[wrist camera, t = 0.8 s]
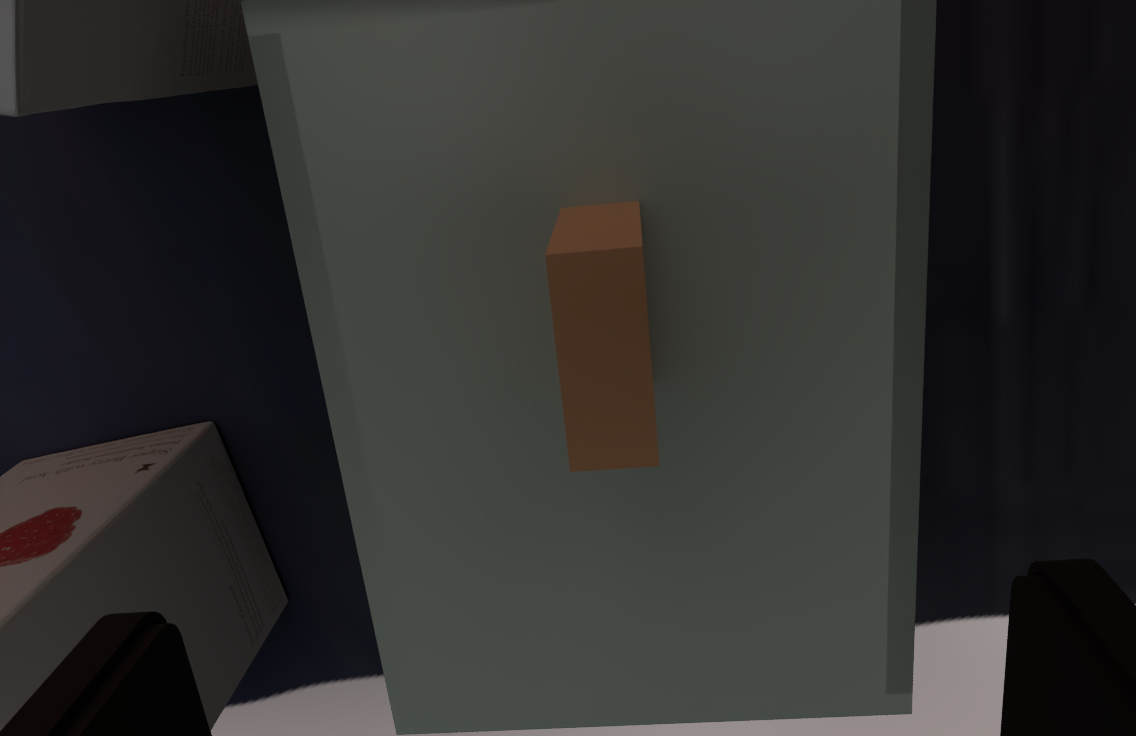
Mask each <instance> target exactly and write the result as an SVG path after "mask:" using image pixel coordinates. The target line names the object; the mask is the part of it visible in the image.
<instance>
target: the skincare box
mask: <svg viewBox="0 0 1136 736" xmlns="http://www.w3.org/2000/svg"><path fill="white" fill-rule="evenodd" d="M240 1H247V0H0V115H6V116H13V117H19V116H24V115H29V114H34V113H41V112H48V111H56V110H64V109H72V108H77V107H83V106H89V105H95V104H101V103H111V102H122V101H137V100H145V99H153V98H162V97H169V96H176V95H184V94H192V93H200V92H206V91H215V90H222V89H229V88H240V87H246V86H253V85H258V82H257V77H256V72H255V67H254V63H253V58H252V53H251V49H250V44H249V39H248V35H247V30H246V25H245V21H244V16H243V11H242V7H241V2H240Z"/></svg>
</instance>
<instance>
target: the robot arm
mask: <svg viewBox="0 0 1136 736" xmlns="http://www.w3.org/2000/svg"><path fill="white" fill-rule="evenodd" d="M0 736H212V735H211V731H210V728H209V725H208V721H207V718H206V715H205V711H204V708H203V705H202V701H201V698H200V695H199V691H198V688H197V685H196V681H195V678H194V675H193V671H192V668H191V665H190V661H189V658H188V655H187V651H186V648H185V645H184V642H183V638H182V635H181V632H180V630H179V628H178V627H177V626H176V625H175V624H172V623H167V621H166V619H165V618H164V617H163V616H162V614H161V613H158V612H155V611H150V612H133V613H115V614H108V615H104V616H103V617H102V618H101V619H99V620H98V621H97V622H96V623H95V625H94V626H93V627H92V628H91V629H90V630H89V631H88V632H87V634H86V635H85V636H84V637H83V638H82V639H81V640H80V642H79V643H78V644H77V645H76V646H75V647H74V648H73V649H72V651H71V652H70V653H69V654H68V655H67V656H66V657H65V658H64V660H63V661H62V662H61V663H60V664H59V665H58V666H57V668H56V669H55V670H54V671H53V672H52V673H51V674H50V675H49V677H48V678H47V679H46V680H45V681H44V682H43V683H42V684H41V686H40V687H39V688H38V689H37V690H36V691H35V692H34V694H33V695H32V696H31V697H30V698H29V699H28V700H27V701H26V703H25V704H24V705H23V706H22V707H21V708H20V709H19V711H18V712H17V713H16V714H15V715H14V716H13V717H12V718H11V720H10V721H9V722H8V723H7V724H6V725H5V726H4V727H3V729H2V730H1V731H0ZM1000 736H1136V606H1135V605H1134V603H1133V602H1132V601H1131V600H1130V599H1129V598H1128V597H1127V595H1126V594H1125V593H1124V592H1123V591H1122V590H1121V589H1120V587H1119V586H1118V585H1117V584H1116V583H1115V582H1114V581H1113V580H1112V578H1111V577H1110V576H1109V575H1108V574H1107V573H1106V572H1105V570H1104V569H1103V568H1102V567H1101V566H1100V565H1099V564H1098V563H1097V562H1096V561H1094V560H1092V559H1070V560H1052V561H1035V562H1034V563H1032V564H1031V566H1030V568H1029V570H1028V574H1027V576H1017V577H1016V578H1014V580H1013V582H1012V587H1011V598H1010V611H1009V625H1008V639H1007V652H1006V667H1005V680H1004V694H1003V707H1002V721H1001V734H1000Z"/></svg>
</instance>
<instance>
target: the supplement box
mask: <svg viewBox="0 0 1136 736" xmlns="http://www.w3.org/2000/svg"><path fill="white" fill-rule="evenodd" d="M287 603H288V599H287V596H286V594H285V591H284V589H283V586H282V584H281V582H280V579H279V577H278V574H277V572H276V570H275V567H274V565H273V562H272V560H271V558H270V555H269V553H268V550H267V548H266V546H265V543H264V541H263V538H262V536H261V533H260V531H259V529H258V526H257V524H256V521H255V519H254V517H253V514H252V512H251V510H250V507H249V505H248V503H247V500H246V497H245V495H244V492H243V490H242V487H241V485H240V483H239V480H238V478H237V475H236V473H235V471H234V468H233V466H232V463H231V461H230V459H229V456H228V454H227V452H226V449H225V447H224V444H223V442H222V440H221V437H220V435H219V433H218V430H217V428H216V426H215V424H214V423H213V422H211V421H208V422H203V423H198V424H193V425H188V426H183V427H178V428H174V429H169V430H164V431H159V432H155V433H150V434H145V435H140V436H135V437H131V438H126V439H121V440H117V441H112V442H107V443H102V444H98V445H93V446H88V447H84V448H79V449H74V450H70V451H65V452H60V453H56V454H51V455H46V456H41V457H37V458H33V459H28V460H24V461H21V462H20V463H18V464H17V465H16V466H15V467H13V468H12V469H10V470H9V471H7V472H6V473H5V474H3V475H2V476H1V477H0V731H1V730H2V729H3V727H4V726H5V725H6V724H7V723H8V722H9V721H10V720H11V718H12V717H13V716H14V715H15V714H16V713H17V712H18V711H19V709H20V708H21V707H22V706H23V705H24V704H25V703H26V701H27V700H28V699H29V698H30V697H31V696H32V695H33V694H34V692H35V691H36V690H37V689H38V688H39V687H40V686H41V684H42V683H43V682H44V681H45V680H46V679H47V678H48V677H49V675H50V674H51V673H52V672H53V671H54V670H55V669H56V668H57V666H58V665H59V664H60V663H61V662H62V661H63V660H64V658H65V657H66V656H67V655H68V654H69V653H70V652H71V651H72V649H73V648H74V647H75V646H76V645H77V644H78V643H79V642H80V640H81V639H82V638H83V637H84V636H85V635H86V634H87V632H88V631H89V630H90V629H91V628H92V627H93V626H94V625H95V623H96V622H97V621H98V620H99V619H101V618H102V617H103V616H104V615H108V614H115V613H133V612H150V611H155V612H158V613H161V614H162V616H163V617H164V618H165V619H166V621H167V623H172V624H175V625H176V626H177V627H178V628H179V630H180V632H181V635H182V638H183V642H184V645H185V648H186V651H187V655H188V658H189V661H190V665H191V668H192V671H193V675H194V678H195V681H196V685H197V688H198V691H199V695H200V698H201V701H202V705H203V708H204V711H205V715H206V718H207V721H208V725H209V728H210V731H211V729H212V728H213V726H214V724H215V722H216V721H217V719H218V717H219V715H220V714H221V712H222V711H223V709H224V708H225V706H226V704H227V703H228V701H229V699H230V698H231V696H232V694H233V693H234V691H235V689H236V688H237V686H238V684H239V683H240V681H241V679H242V678H243V676H244V674H245V673H246V671H247V669H248V668H249V666H250V664H251V663H252V661H253V659H254V658H255V656H256V654H257V653H258V651H259V650H260V648H261V646H262V644H263V643H264V641H265V639H266V638H267V636H268V634H269V633H270V631H271V629H272V628H273V626H274V624H275V623H276V621H277V619H278V618H279V616H280V614H281V613H282V611H283V609H284V608H285V606H286V605H287Z"/></svg>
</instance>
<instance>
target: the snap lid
mask: <svg viewBox="0 0 1136 736" xmlns="http://www.w3.org/2000/svg"><path fill="white" fill-rule="evenodd" d="M936 1H937V0H247V1H240V2H241V7H242V11H243V16H244V21H245V25H246V30H247V35H248V39H249V44H250V49H251V53H252V58H253V63H254V67H255V72H256V77H257V82H258V86H259V91H260V96H261V100H262V105H263V110H264V114H265V119H266V124H267V128H268V133H269V138H270V142H271V147H272V152H273V157H274V161H275V166H276V171H277V175H278V180H279V185H280V189H281V194H282V199H283V203H284V208H285V213H286V217H287V222H288V227H289V232H290V236H291V241H292V246H293V250H294V255H295V260H296V264H297V269H298V274H299V278H300V283H301V288H302V292H303V297H304V302H305V307H306V311H307V316H308V321H309V325H310V330H311V335H312V339H313V344H314V349H315V353H316V358H317V363H318V367H319V372H320V377H321V382H322V386H323V391H324V396H325V400H326V405H327V410H328V414H329V419H330V424H331V428H332V433H333V438H334V442H335V447H336V452H337V457H338V461H339V466H340V471H341V475H342V480H343V485H344V489H345V494H346V499H347V503H348V508H349V513H350V517H351V522H352V527H353V532H354V536H355V541H356V546H357V550H358V555H359V560H360V564H361V569H362V574H363V578H364V583H365V588H366V592H367V597H368V602H369V607H370V611H371V616H372V621H373V625H374V630H375V635H376V639H377V644H378V649H379V653H380V658H381V663H382V667H383V672H384V677H385V682H386V686H387V691H388V695H389V700H390V705H391V710H392V714H393V719H394V724H395V728H396V733H397V735H404V734H427V733H453V732H475V731H476V732H477V731H502V730H524V729H525V730H526V729H552V728H576V727H600V726H624V725H650V724H675V723H697V722H698V723H699V722H724V721H749V720H773V719H798V718H821V717H846V716H872V715H896V714H911V713H912V689H913V661H914V633H915V632H914V631H915V604H916V575H917V547H918V518H919V489H920V460H921V432H922V403H923V374H924V346H925V317H926V288H927V260H928V231H929V202H930V174H931V145H932V116H933V87H934V59H935V30H936Z"/></svg>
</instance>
